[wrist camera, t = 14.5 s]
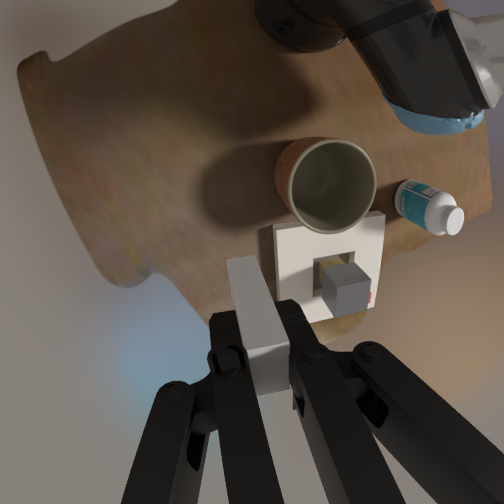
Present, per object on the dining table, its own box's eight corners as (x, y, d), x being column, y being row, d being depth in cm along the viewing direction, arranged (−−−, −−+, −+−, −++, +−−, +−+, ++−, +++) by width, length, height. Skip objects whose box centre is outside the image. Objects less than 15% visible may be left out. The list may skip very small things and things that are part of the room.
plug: (314, 257, 50) (337, 287, 41) (344, 251, 51) (371, 279, 42) (313, 285, 53) (334, 318, 44) (342, 279, 53) (366, 309, 44)
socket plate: (272, 224, 46) (277, 231, 44) (378, 210, 49) (387, 215, 46) (278, 320, 55) (282, 330, 53) (368, 300, 57) (374, 308, 55)
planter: (320, 120, 40) (355, 121, 30) (351, 185, 46) (387, 204, 36) (252, 158, 41) (268, 170, 32) (290, 223, 47) (314, 252, 37)
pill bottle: (406, 222, 51) (451, 251, 39) (386, 201, 48) (433, 228, 36) (426, 193, 49) (473, 217, 37) (407, 170, 46) (458, 190, 34)
